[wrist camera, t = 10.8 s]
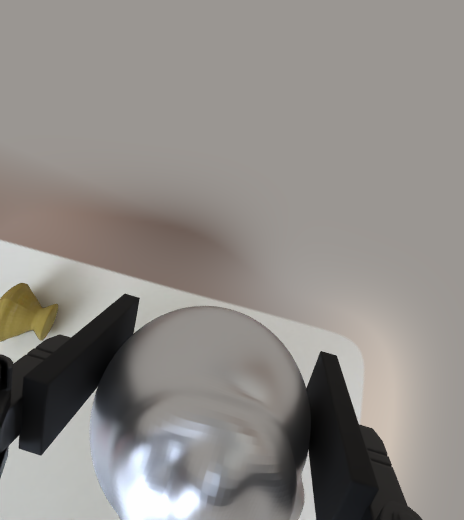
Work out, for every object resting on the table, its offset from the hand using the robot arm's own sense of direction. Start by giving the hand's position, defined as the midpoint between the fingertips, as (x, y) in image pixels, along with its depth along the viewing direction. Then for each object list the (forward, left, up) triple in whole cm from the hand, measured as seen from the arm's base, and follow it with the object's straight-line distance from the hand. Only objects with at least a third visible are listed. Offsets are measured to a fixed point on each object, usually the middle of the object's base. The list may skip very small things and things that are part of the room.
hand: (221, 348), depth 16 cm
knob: (+17, +4, -15) cm, 23 cm away
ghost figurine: (-1, +3, -4) cm, 5 cm away
